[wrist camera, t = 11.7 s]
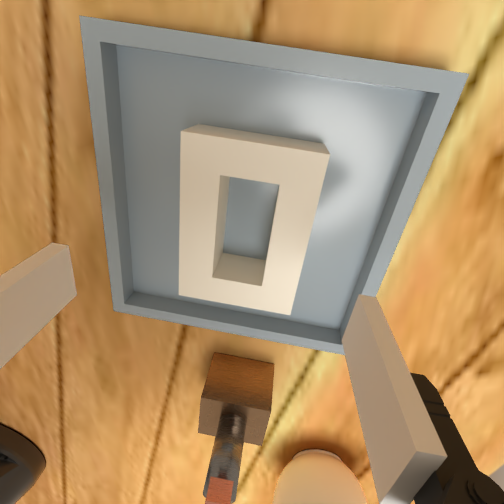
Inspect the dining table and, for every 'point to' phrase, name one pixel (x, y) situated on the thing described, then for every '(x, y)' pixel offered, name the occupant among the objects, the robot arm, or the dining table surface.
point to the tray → (249, 191)
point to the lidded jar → (318, 481)
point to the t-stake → (233, 418)
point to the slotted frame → (215, 208)
